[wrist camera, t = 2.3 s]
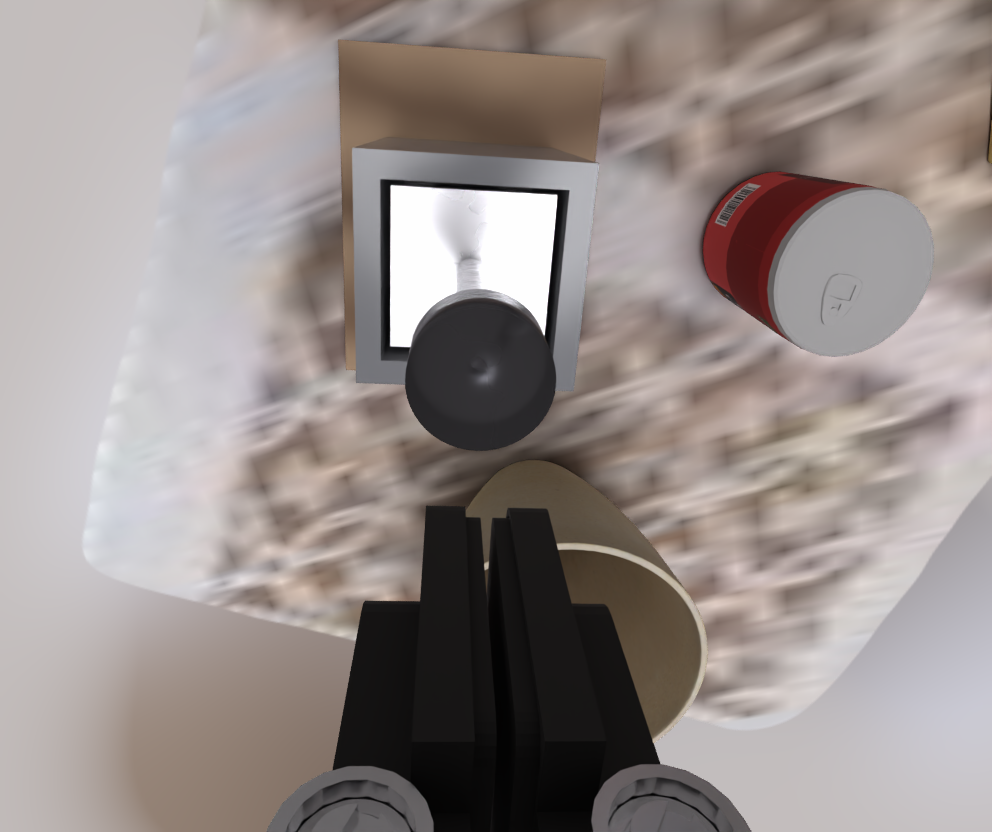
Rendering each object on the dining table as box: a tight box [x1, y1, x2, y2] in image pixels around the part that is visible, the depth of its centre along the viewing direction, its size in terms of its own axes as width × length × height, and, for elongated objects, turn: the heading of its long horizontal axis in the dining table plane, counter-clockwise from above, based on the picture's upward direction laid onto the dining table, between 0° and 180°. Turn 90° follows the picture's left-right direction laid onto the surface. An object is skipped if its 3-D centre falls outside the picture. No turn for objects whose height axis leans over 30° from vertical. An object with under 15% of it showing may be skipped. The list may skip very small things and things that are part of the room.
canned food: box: [703, 172, 934, 357], centre depth 38 cm, size 8×8×11 cm
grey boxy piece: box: [352, 137, 599, 391], centre depth 34 cm, size 12×9×14 cm
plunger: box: [390, 184, 557, 451], centre depth 23 cm, size 6×6×13 cm
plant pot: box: [466, 460, 708, 743], centre depth 42 cm, size 15×15×16 cm
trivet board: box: [338, 40, 606, 370], centre depth 41 cm, size 18×14×2 cm
